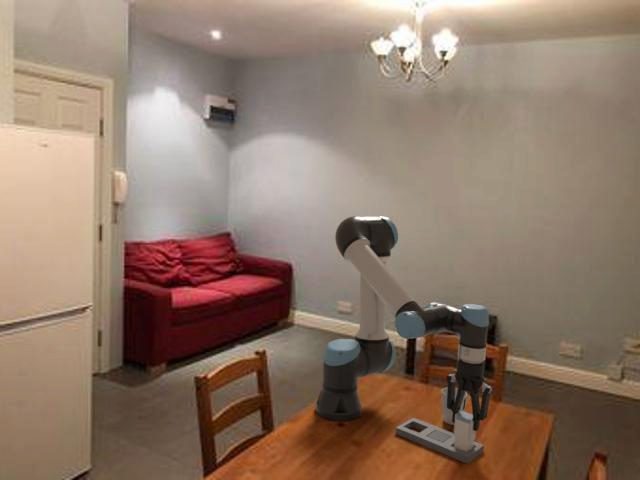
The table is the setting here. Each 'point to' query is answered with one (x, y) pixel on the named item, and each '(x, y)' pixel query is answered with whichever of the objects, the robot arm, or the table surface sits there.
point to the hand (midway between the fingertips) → (464, 436)
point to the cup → (448, 412)
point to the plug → (463, 432)
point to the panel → (437, 440)
